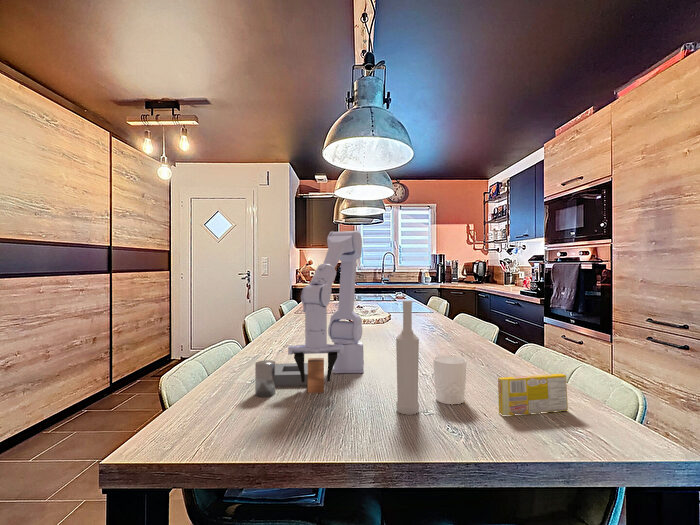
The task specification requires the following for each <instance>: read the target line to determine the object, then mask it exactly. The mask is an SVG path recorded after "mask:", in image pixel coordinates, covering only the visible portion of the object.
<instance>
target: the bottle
mask: <svg viewBox="0 0 700 525" xmlns="http://www.w3.org/2000/svg"><path fill="white" fill-rule="evenodd" d="M412 309H413V301H412V300H406V299H405V300H402V323H403V324H402V330H401V333H400V334H398V335H397V336H396V337H395V341H396V345H395V347H396V348H395V349H396V350H395V351H396V352H395V353H396V386H397V387H396V388H397V389H396V392H397V393H396V394H397V398H396V399H397V400H396V403H395V404H396V411H397V413H398V414H400V413H401V415H404V414H406V415H405V416H414V415H417V414H418V413H419V410H420V403H419V401H418V400H419V357H420V356H419V353H420V352H419V351H420V350H419V349H420V347H419V346H420V338H419V337H418V336H417V335H416V334H415V333H414V330H413V328H412V327H413V326H412V325H413V323H412V321H413V319H412V317H413V316H412V315H413V314H412ZM416 413H417V414H416ZM413 414H414V415H413Z"/></svg>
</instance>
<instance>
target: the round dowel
mask: <svg viewBox="0 0 700 525" xmlns="http://www.w3.org/2000/svg"><path fill="white" fill-rule="evenodd" d="M254 363H255V365H254V366H255V376H254V378H255V380H254V381H255V383H254V384H255V386H254V387H255V391H254V392H255V394H254V395H255V397H258V398H270V397H272V396H275V394H276V386H275V364H276V361H274V360H267V359H266V360H259V361H256V362H254Z"/></svg>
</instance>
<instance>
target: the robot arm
mask: <svg viewBox="0 0 700 525" xmlns="http://www.w3.org/2000/svg"><path fill="white" fill-rule="evenodd" d="M326 240H327V241H326V243H327V248H328V249H327V252H326V254H325V258H324V261H323V263H321V264H318V266H317V268H316V270H315V271H314V274H313V276H312V278H311V280H310V282H309V284H307V285H306V286H304V287H303V289H302V291H301V295H300V301H301V303H302V310H303V313H305V314H304V315H305V316H304V318H305V319H304V321H305V323H304V324H305V326H304V327H305V328H304V330H305V331H304V336H305V337H304V340H305V342H304V344H300V345H298V344H297V345H288V350H287V353H288V354H287V356H288V355H290V356H291V355H293V358H294V361H295V363H297V365H298V368H299V371H300V374H301V379H302V382H305V371H304V363H305V354H307V355H309V354H310V355H311V354H315V355H318V354H327V373H326V375H327V376H326V378H327V382H328V383H329V382H331V375H332V373H333V374H361V373H362V374H363V373H364V372H365V370H364V367H365V360H364V359H365V357H364V344H363V341H360V340H361V339H362V336H363V325H362V317H361V316H360V315H359V314H357V312H355V311H354V308H355V289H356V278H357V277H356V274H357V260H358V259H360V258H361V257H362V249H363V248H362V247H363V239H362V235H361V233H360V232H359V230H352V231H351V230H349V231H348V230H347V231H346V230H345V231H330V232H329V234H328V235H327V238H326ZM339 262H340V278H339V279H340V280H339V294H338V307H337V311H336V312H334V313H333V314H332V315H331V316H330V321H329V324H327V321H328V320H327V316H328V313H327V311H328V308H327V307H328V306H329V304H330V302H331V297H332V286H333V284H334V281H335V279H336V276H337V270H336V267H337V265H338V264H339ZM327 334H328V336H327ZM327 337H329V339H330V340H331V343H333V344H327V343H328V341H327V339H328V338H327Z"/></svg>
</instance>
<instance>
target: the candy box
mask: <svg viewBox="0 0 700 525" xmlns="http://www.w3.org/2000/svg"><path fill="white" fill-rule="evenodd" d="M567 383H568V382H567V375H566V374H563V373H552V374H551V373H550V374H537V375H522V376H521V375H520V376H507V377H497V388H498V389H497V390H498V414H499V413H501V414H502V415H515V414H531V413H541V412H554V411H567V410H568V411H569V408H568V407H569V405H568V389H567V386H568V385H567Z"/></svg>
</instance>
